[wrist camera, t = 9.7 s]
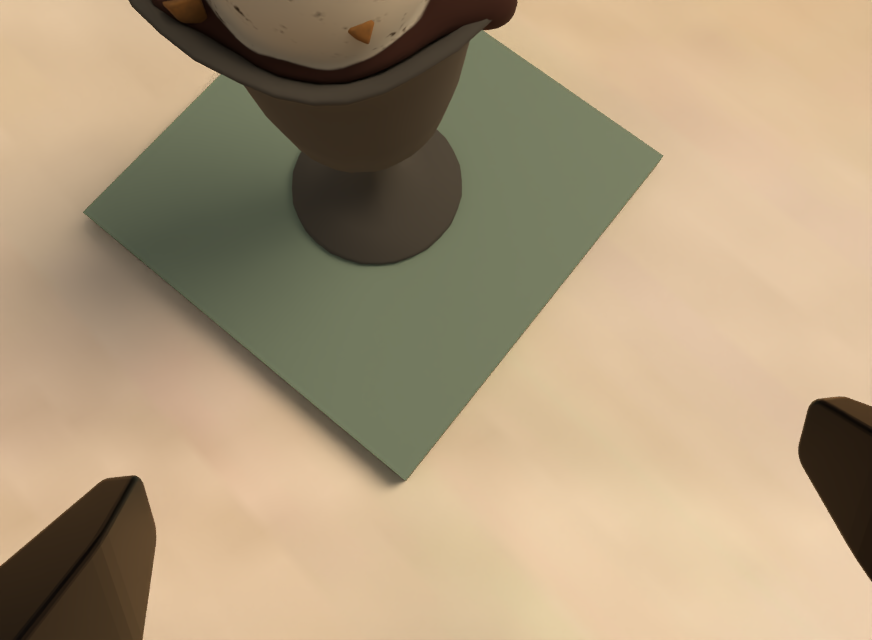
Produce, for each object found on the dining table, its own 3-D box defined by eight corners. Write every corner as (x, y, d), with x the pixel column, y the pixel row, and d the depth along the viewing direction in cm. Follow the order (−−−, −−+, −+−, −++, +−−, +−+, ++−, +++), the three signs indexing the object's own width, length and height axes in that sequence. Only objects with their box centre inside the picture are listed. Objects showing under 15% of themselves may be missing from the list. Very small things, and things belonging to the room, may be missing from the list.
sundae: (385, 344, 19) (232, -137, 4) (216, 191, 20) (-349, -597, 6) (540, 181, 20) (815, -617, 6) (373, 45, 21) (245, -920, 7)
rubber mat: (405, 481, 19) (404, 480, 18) (92, 220, 21) (82, 212, 20) (656, 164, 21) (663, 155, 20) (355, -46, 23) (354, -59, 22)
